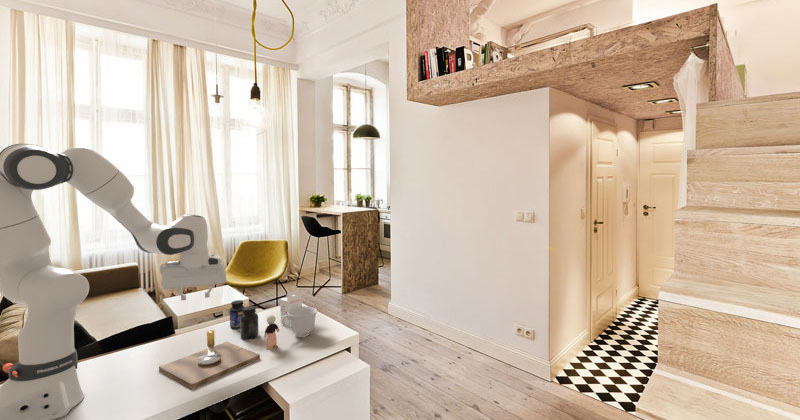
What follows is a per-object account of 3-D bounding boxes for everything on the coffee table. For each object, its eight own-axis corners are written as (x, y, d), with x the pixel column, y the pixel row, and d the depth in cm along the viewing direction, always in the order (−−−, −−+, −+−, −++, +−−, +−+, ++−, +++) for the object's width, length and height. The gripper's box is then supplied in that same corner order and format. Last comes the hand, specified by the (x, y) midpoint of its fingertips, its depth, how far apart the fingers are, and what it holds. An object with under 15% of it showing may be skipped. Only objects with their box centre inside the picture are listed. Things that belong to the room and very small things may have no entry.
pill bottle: (239, 329, 159) (239, 304, 158) (226, 328, 160) (226, 303, 159) (248, 324, 165) (247, 300, 164) (235, 323, 166) (235, 299, 165)
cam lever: (221, 362, 125) (220, 343, 125) (197, 367, 122) (196, 347, 122) (219, 346, 138) (219, 329, 138) (198, 349, 135) (197, 332, 134)
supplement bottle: (238, 336, 152) (237, 307, 151) (255, 332, 156) (255, 304, 156) (243, 341, 147) (242, 311, 146) (260, 337, 151) (260, 308, 150)
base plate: (191, 389, 112) (191, 383, 112) (159, 371, 123) (158, 366, 123) (259, 358, 132) (259, 354, 132) (226, 345, 143) (226, 341, 143)
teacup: (276, 335, 153) (275, 311, 152) (309, 327, 162) (309, 304, 162) (288, 345, 144) (288, 320, 143) (322, 335, 153) (322, 311, 153)
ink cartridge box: (295, 319, 172) (294, 287, 171) (302, 321, 170) (302, 289, 169) (280, 324, 165) (279, 292, 164) (287, 327, 162) (287, 293, 161)
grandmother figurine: (272, 343, 145) (271, 311, 145) (281, 344, 145) (280, 312, 144) (260, 351, 138) (260, 318, 137) (270, 352, 137) (269, 319, 136)
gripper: (158, 264, 124) (159, 305, 125) (226, 259, 133) (227, 297, 134) (160, 260, 129) (162, 300, 130) (225, 256, 139) (226, 292, 140)
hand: (195, 298), depth 132 cm, fingers open, 6 cm apart
